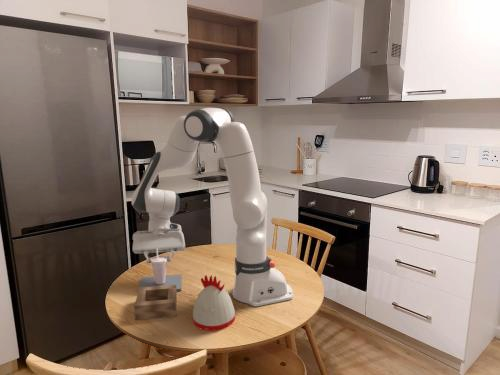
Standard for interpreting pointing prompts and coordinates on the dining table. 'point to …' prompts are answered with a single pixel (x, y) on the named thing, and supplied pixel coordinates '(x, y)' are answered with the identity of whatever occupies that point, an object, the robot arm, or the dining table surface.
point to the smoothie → (159, 268)
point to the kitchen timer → (213, 306)
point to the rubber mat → (168, 281)
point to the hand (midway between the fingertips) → (159, 261)
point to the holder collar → (156, 302)
